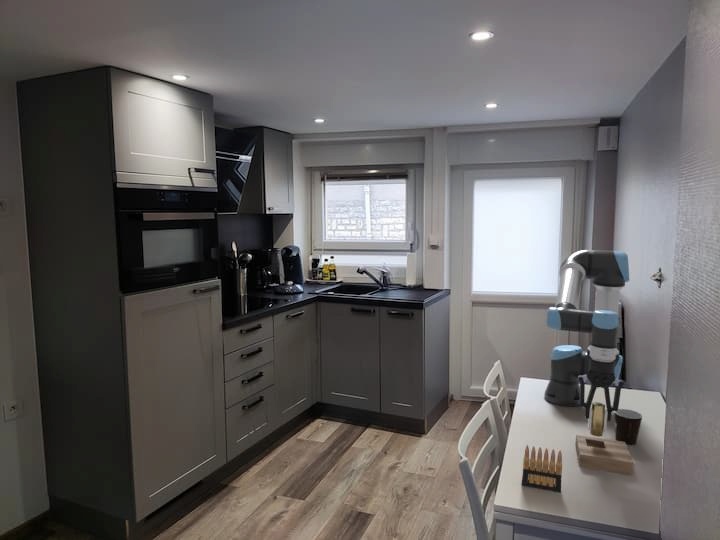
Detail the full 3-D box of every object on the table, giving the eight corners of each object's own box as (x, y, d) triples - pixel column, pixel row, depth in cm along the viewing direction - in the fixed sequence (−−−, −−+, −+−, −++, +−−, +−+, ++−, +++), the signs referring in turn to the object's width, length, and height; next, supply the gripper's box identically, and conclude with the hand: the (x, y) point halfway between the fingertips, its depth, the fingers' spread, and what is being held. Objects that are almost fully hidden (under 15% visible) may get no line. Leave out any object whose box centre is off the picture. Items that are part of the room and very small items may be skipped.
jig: (575, 446, 174) (576, 434, 173) (624, 453, 169) (625, 442, 169) (579, 466, 160) (580, 454, 159) (632, 475, 155) (633, 462, 155)
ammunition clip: (521, 485, 148) (523, 445, 146) (521, 482, 149) (524, 443, 148) (561, 492, 144) (564, 452, 143) (560, 489, 146) (563, 449, 145)
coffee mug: (617, 433, 185) (619, 407, 184) (643, 441, 179) (645, 414, 177) (605, 443, 177) (607, 415, 175) (632, 451, 170) (634, 423, 169)
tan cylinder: (589, 430, 169) (591, 401, 168) (601, 432, 168) (604, 403, 167) (590, 435, 165) (592, 405, 164) (603, 437, 164) (605, 407, 163)
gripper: (574, 358, 163) (569, 429, 165) (633, 365, 158) (627, 437, 160) (573, 353, 170) (568, 420, 172) (629, 358, 165) (623, 428, 167)
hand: (596, 428), depth 166 cm, fingers closed on tan cylinder, 4 cm apart
